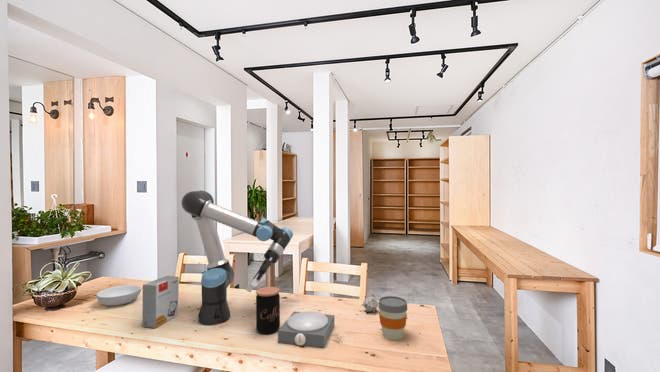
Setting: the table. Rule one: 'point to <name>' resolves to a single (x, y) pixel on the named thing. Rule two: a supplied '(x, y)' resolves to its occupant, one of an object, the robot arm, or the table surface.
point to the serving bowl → (118, 294)
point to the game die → (370, 303)
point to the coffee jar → (267, 310)
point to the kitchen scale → (306, 329)
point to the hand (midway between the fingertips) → (250, 288)
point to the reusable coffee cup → (392, 316)
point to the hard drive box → (160, 301)
